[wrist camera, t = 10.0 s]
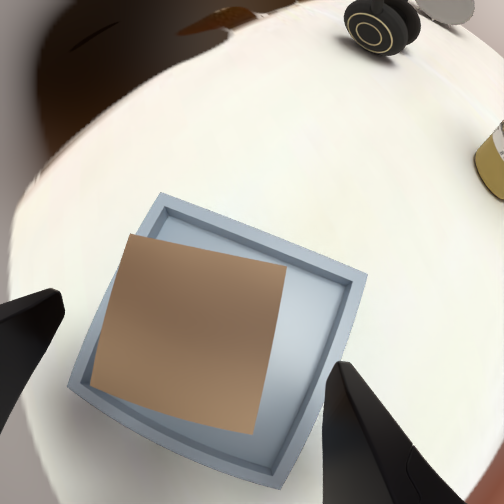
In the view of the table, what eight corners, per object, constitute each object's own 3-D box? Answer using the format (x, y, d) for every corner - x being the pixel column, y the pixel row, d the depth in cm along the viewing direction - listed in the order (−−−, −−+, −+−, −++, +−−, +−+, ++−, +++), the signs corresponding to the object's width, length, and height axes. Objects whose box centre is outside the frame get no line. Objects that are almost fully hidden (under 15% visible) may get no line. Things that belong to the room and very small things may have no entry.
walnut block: (247, 392, 15) (252, 434, 7) (164, 371, 15) (89, 385, 7) (264, 310, 17) (287, 266, 8) (183, 292, 17) (130, 233, 9)
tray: (276, 478, 14) (280, 489, 12) (80, 385, 15) (66, 386, 13) (357, 281, 18) (367, 274, 17) (166, 205, 20) (160, 192, 18)
